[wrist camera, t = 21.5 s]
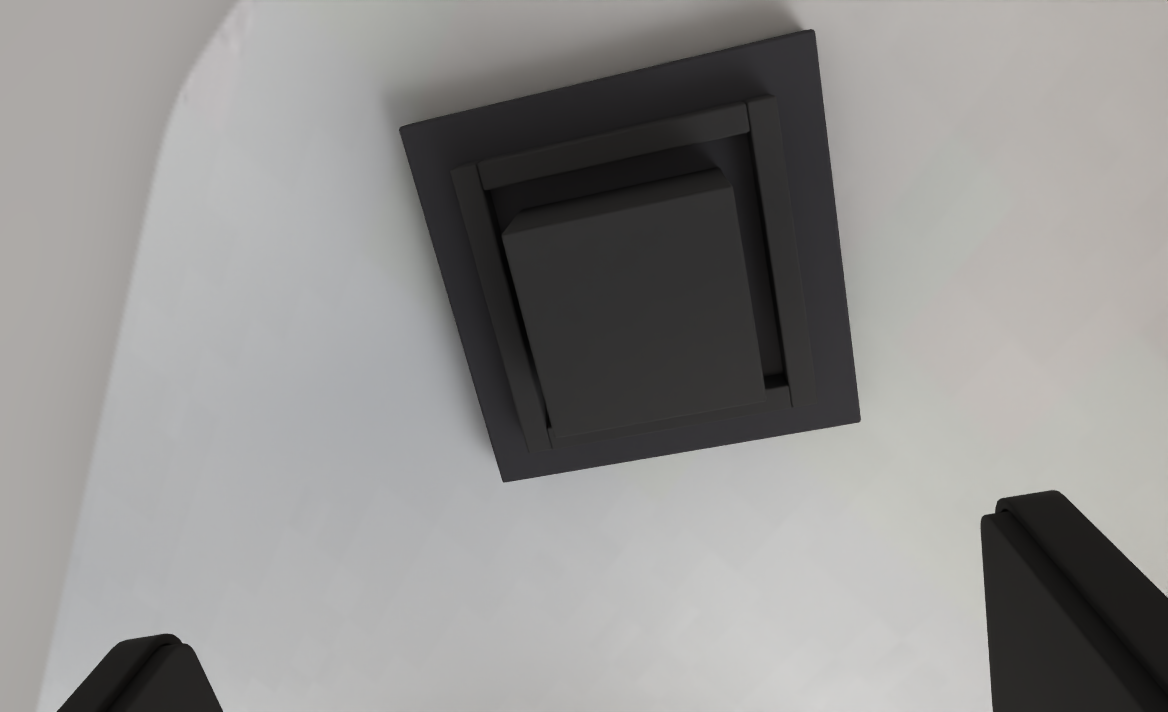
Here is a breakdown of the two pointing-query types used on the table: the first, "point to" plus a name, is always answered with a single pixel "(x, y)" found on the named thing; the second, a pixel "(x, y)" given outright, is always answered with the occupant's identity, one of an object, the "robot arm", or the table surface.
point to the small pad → (637, 303)
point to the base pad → (633, 156)
